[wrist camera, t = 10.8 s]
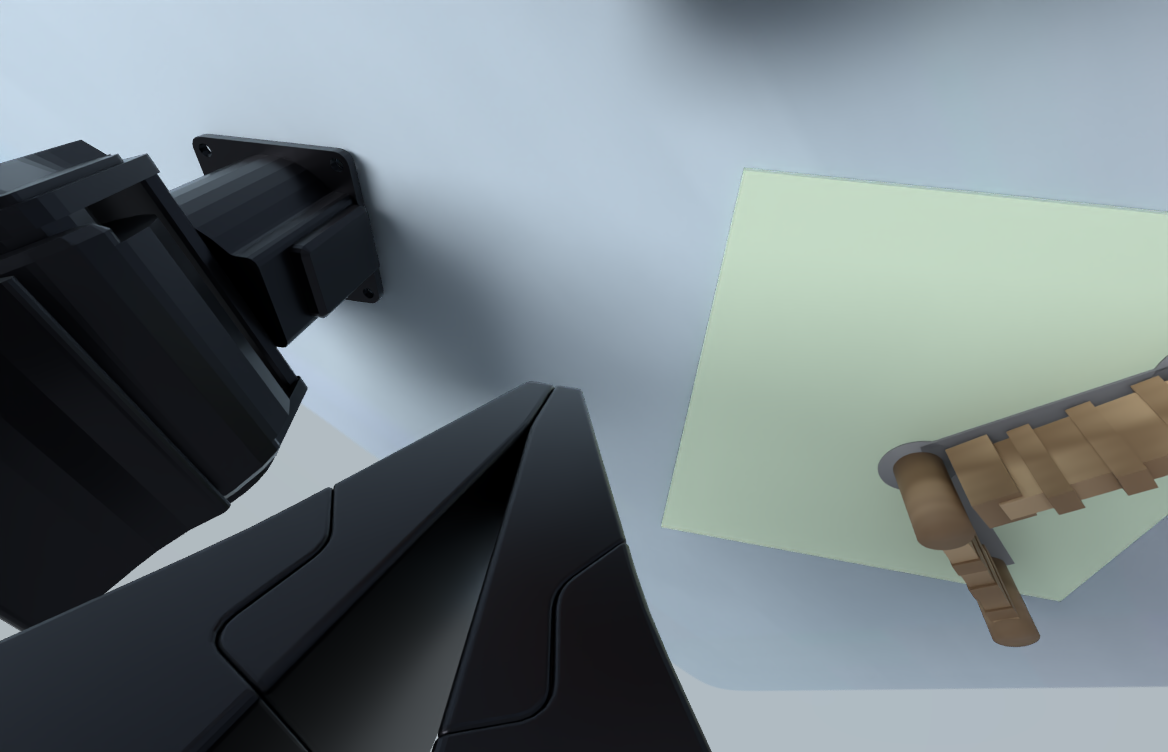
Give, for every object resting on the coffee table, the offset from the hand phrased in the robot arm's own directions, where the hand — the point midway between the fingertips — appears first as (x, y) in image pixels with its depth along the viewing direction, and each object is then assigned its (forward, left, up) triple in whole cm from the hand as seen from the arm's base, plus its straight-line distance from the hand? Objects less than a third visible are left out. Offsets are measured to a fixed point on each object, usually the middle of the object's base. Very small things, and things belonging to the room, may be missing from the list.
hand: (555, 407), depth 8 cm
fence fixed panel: (+17, -15, -13) cm, 26 cm away
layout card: (+14, -10, -13) cm, 21 cm away
